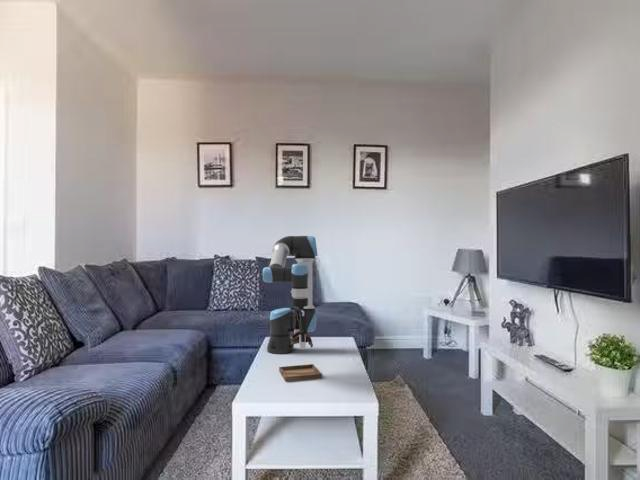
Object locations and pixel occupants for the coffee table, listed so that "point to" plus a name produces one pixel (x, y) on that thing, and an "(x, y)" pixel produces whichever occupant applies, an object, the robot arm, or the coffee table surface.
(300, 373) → the walnut tray
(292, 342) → the pottery mug
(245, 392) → the coffee table surface
